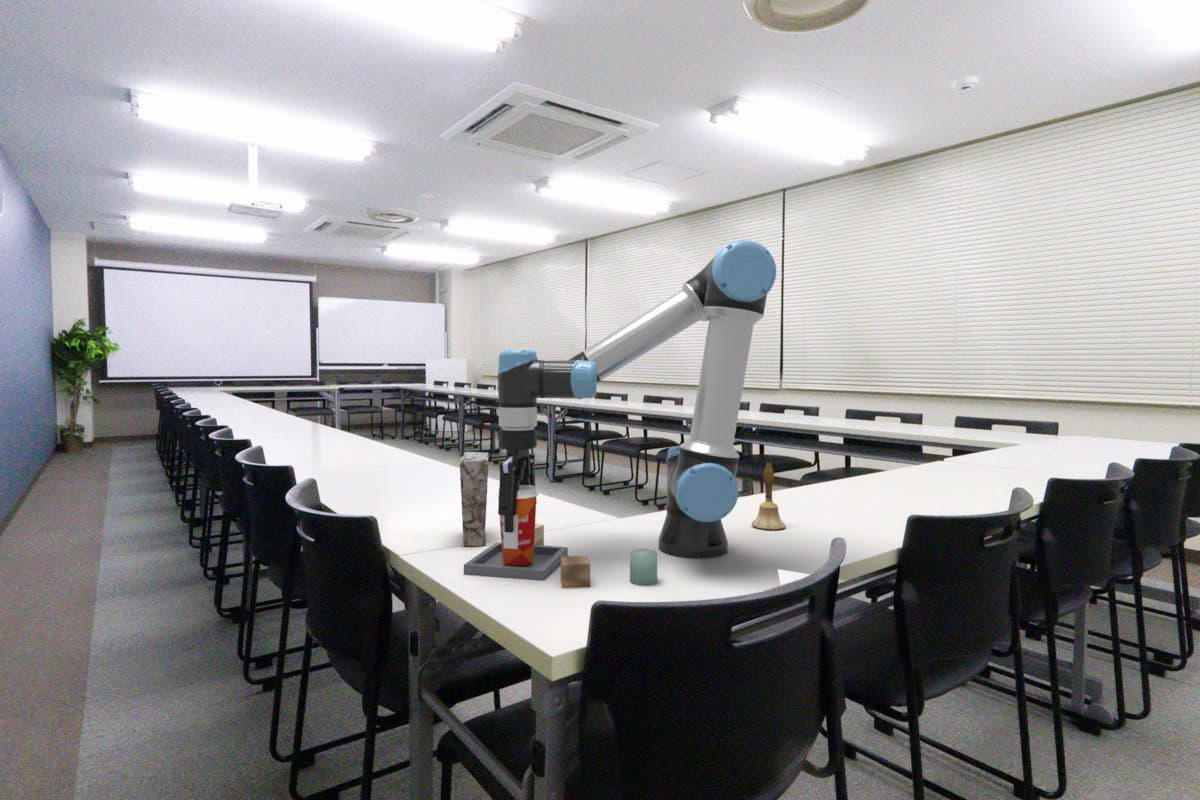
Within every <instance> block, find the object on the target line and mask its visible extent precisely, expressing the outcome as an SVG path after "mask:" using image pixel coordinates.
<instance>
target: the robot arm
mask: <svg viewBox="0 0 1200 800" xmlns="http://www.w3.org/2000/svg"><path fill="white" fill-rule="evenodd" d="M776 277H777V264H776V261H775V259H774V257H773V255H772V254H771V252H770V251H769V250H768V249H767V248H766V247H765V246H764V245H762V244H760V243H758V242H757V241H754V240H753V241H752V240H747V239H746V240H745V239H742V240H737V241H734V242H730V243H728V244H726V245H725V246H723V247H721V248H720V249H719V250H718V252H717V253H716V254H715V256H714V257H713V258H712V259H711V260H710V261H708V263H707V264H706V266H705V267H703V268H702V269H701V271H699V272H698V273H697V274H696V275H694V276H693V277H692V278H690V279H688V280H687V281H685V282H684V283H683V285H682V288H681V289H680V291H678V292H677V293H674V294H673V295H671V296H670V297H668V298H666V299H665V300H664V301H662V302H659V304H657V305H655V306H653V307H652V308H650V309H649V310H647V311H646V312H644V313H643V314H641V315H639V316H638V317H636V318H634V319H632V320H631V321H629V322H628V323H627V324H625V325H623V326H621V327H620V328H618V329H617V330H615V331H613V332H612V333H609V334H608V335H607V336H605V337H604V338H601V339H600V340H599V341H597V342H596V343H594V344H592V345H590V346H589V347H588V348H586V349H584V350H583V351H580V353H577V354H576V355H574V356H573V357H571V358H570V359H568V360H566V359H565V360H564V359H562V360H561V359H560V360H544V359H542V360H541V359H538V356H537V352H536V351H535V350H529V349H528V350H525V349H524V350H523V349H521V350H520V349H513V350H512V349H511V350H510V349H509V350H503V351H501V352H500V353H499V356H498V370H497V383H498V384H497V387H498V388H497V389H498V390H497V391H498V395H497V397H498V410H497V411H496V416H498V427H500V428H501V429H499V431H498V448H500V449H501V450H505V451H506V454H505V455H506V456H505V461H500V462H499V464H498V465H499V467H498V469H499V487H498V491H499V501H498V505H497V507H498V508H497V509H498V510H497V513H498V515H499V516H500V515H503V539H504V548H510V549H517V548H518V515H516V508H517V494H518V491H519V485H533V486H535V489H536V474H535V473H536V471H535V458H536V455H535V453H531V452H530V450H532V449H536V447H537V446H538V445H537V443H538V434H537V433H538V432H537V430H536V427H537V426H538V407H537V406H538V405H537V404H538V403H537V401H538V400H537V399H577V400H582V399H592V398H593V399H594V398H595V397H596V395H597V394H598V393H597V392H598V391H597V388H598V387H597V385H598V383H599V382H601V381H602V380H604V379H606V378H607V377H609V376H610V375H612V374H615V373H616V372H617V371H619V370H620V369H622V368H624V367H625V366H627V365H629V364H630V363H632V362H633V361H636V360H637V359H639V358H640V357H642V356H643V355H645V354H647V353H648V352H650V351H652V350H654V349H655V348H656V347H658V346H659V345H661V344H664V343H665V342H666V341H668V340H670V339H671V338H673V337H675V336H677V335H678V334H680V333H681V332H683V331H685V330H686V329H688V328H689V327H691V326H693V325H694V324H696V323H698V322H699V321H701V322H708V324H707V325H708V326H707V331H706V332H707V333H706V336H705V337H706V338H705V344H704V351H703V356H702V362H701V368H700V374H699V380H698V385H697V391H696V397H695V403H694V408H693V409H694V410H693V415H692V421H691V422H692V423H691V428H690V434H689V437H688V440H686V441H684V442H683V443H682V444H680V446H671V447H670V448H668V450H667V456H666V459H665V460H666V467H667V469H666V470H667V471H666V476H667V477H666V515H665V519H664V522H663V525H662V528H661V531H660V534H659V537H658V551H660V552H661V553H662V554H665V555H668V556H672V557H677V558H682V559H683V558H684V559H695V560H696V559H713V558H719V557H722V556H725V555H727V554H728V551H729V542H728V538H727V535H726V531H725V529H724V525H723V523H722V519H724V518H725V517H727V515H729V514H730V513H731V512H732V511H733V509H734V508H735V507H736V505H737V502H738V498H739V486H738V481H737V479H736V477H737V471H738V466H739V460H740V454H739V453H738V451H737V450H736V448H734V442H735V435H736V430H737V425H738V419H739V414H740V413H739V411H740V408H741V407H740V406H741V402H742V401H741V400H742V396H743V390H744V383H745V377H746V371H747V367H748V366H747V365H748V361H749V360H748V359H749V353H750V348H751V342H752V337H753V330H754V326H755V325H756V324H757V323H758V322H759V321H760V320H761V319H763V318H764V316H765V315H764V314H765V310H766V309H765V308H766V303H767V297H768V294H769V293H770V291H771V290H772V288H773V287H774V285H775V281H776ZM536 490H537V489H536ZM537 502H538V501H537V499H536V504H537Z"/></svg>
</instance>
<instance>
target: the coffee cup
mask: <svg viewBox="0 0 1200 800" xmlns="http://www.w3.org/2000/svg"><path fill="white" fill-rule="evenodd" d="M535 488H536V485H535V486H533V485H519V491H518V494H517V508H516V515H518V548H517V549H510V548H504V539H503V515H499V525H500V540H501V542H500V543H502V555H503V563H504V564H505V565H508V566H525V565H529V564H531V563H532V562H533V556H534V538H535V524H536V515H537V514H536V512H537V503H536V500H537V497H538V496H539V493H538V491H537V489H535ZM495 497H497V498H498V502H499V490H498V491H497V493H496V496H495Z"/></svg>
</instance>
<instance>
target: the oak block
mask: <svg viewBox="0 0 1200 800" xmlns="http://www.w3.org/2000/svg"><path fill="white" fill-rule="evenodd" d="M534 545H543V546H545V525H544V524H539V523H535V538H534Z"/></svg>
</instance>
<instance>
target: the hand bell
mask: <svg viewBox="0 0 1200 800" xmlns="http://www.w3.org/2000/svg"><path fill="white" fill-rule="evenodd" d="M774 480H775V472H774V469H773V466H772V462H770V463H769V462H767V463H765V467H764V470H763V482H764V486H765V496H764V497H765V499H764V501H763V502H762V503H760V504H759V509H758V513H757V515H756V518H755V519H754V520H753V521H752V522H751V526H752V527H754V528H758V529H762V530H772V531H773V530H775V531H776V530H783V529H785V528H786V524H785V523H784V522H783V520H782V519H781V517H780V514H779V513H780V512H779V506H778V504H777V503H775V502H773V485H774Z"/></svg>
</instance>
